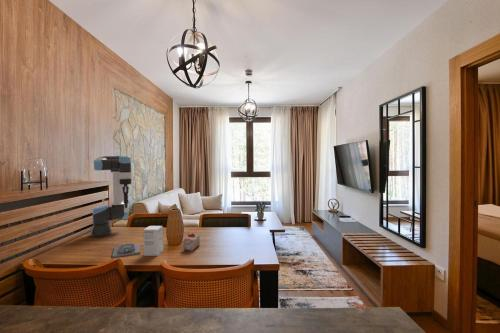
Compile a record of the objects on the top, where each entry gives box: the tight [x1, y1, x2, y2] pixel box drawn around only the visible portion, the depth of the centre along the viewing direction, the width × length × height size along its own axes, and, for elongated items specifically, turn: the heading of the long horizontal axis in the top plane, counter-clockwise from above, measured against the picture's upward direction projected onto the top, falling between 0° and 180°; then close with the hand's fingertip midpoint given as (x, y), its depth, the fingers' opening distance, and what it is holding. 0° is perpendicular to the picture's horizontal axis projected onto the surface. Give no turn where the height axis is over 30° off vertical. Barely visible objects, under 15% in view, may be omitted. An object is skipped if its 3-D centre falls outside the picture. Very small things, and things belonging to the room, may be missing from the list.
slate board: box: [111, 243, 141, 259], centre depth 172 cm, size 18×16×1 cm
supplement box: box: [142, 225, 164, 257], centre depth 168 cm, size 10×9×17 cm
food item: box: [182, 233, 201, 252], centre depth 177 cm, size 14×8×10 cm, turn 171°
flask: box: [118, 243, 135, 253], centre depth 170 cm, size 9×3×11 cm
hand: (126, 212), depth 181 cm, fingers closed
